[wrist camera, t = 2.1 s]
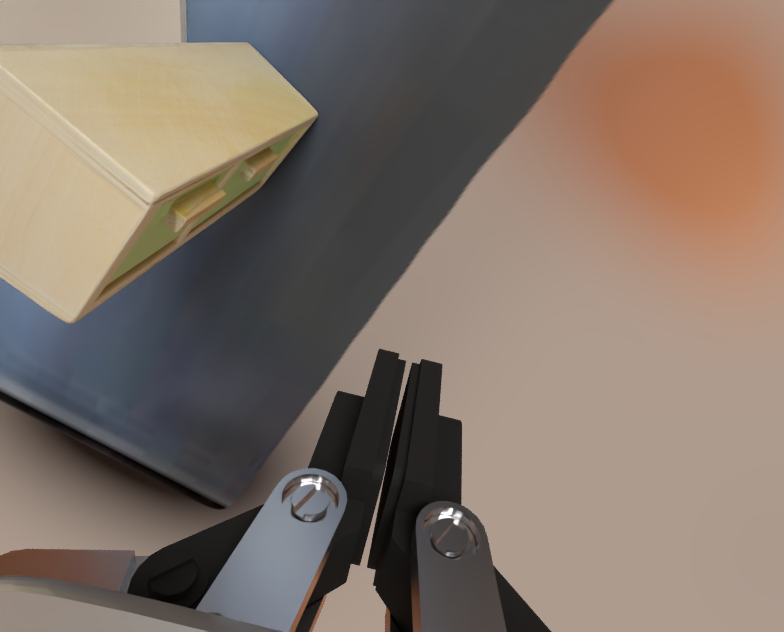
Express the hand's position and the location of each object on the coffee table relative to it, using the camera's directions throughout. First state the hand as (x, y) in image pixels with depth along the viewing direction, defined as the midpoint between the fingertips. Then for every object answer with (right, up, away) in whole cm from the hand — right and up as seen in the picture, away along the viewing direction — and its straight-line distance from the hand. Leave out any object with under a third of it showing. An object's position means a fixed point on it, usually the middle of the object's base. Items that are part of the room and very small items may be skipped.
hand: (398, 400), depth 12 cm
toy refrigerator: (-10, +16, +23) cm, 30 cm away
